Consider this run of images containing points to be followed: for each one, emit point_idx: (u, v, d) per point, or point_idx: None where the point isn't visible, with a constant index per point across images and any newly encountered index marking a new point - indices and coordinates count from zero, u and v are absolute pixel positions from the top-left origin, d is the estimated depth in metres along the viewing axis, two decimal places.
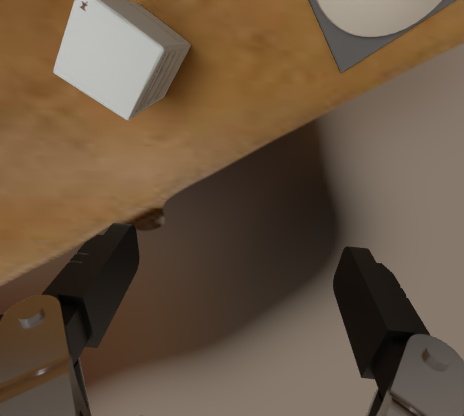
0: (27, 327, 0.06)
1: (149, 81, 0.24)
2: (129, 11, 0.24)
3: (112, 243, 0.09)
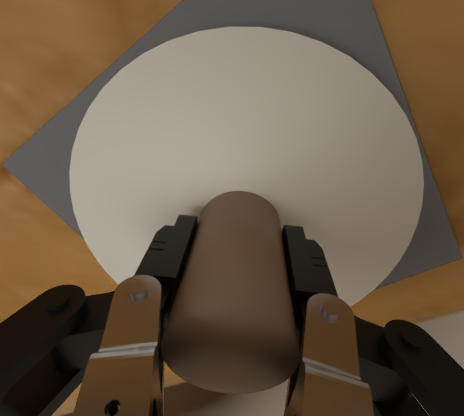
0: (139, 302, 0.07)
1: None
2: None
3: (185, 232, 0.10)
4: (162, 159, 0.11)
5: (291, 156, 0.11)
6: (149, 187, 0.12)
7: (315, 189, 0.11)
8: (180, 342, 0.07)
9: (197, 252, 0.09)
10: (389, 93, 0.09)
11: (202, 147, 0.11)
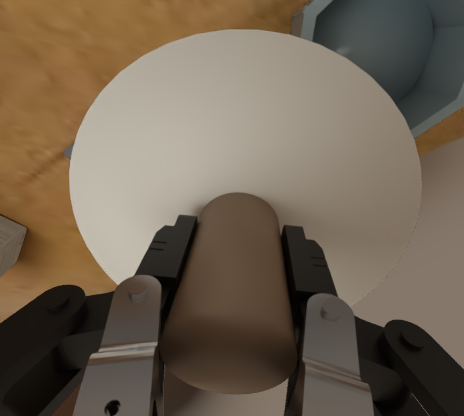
0: (139, 302, 0.07)
1: None
2: None
3: (185, 232, 0.10)
4: (161, 161, 0.11)
5: (290, 158, 0.11)
6: (148, 188, 0.12)
7: (314, 191, 0.11)
8: (179, 343, 0.07)
9: (196, 253, 0.09)
10: (387, 95, 0.09)
11: (202, 148, 0.11)
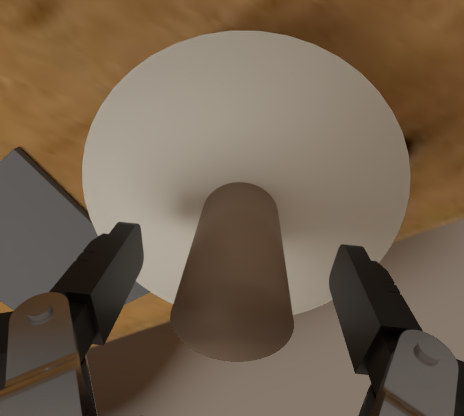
0: (36, 324, 0.06)
1: None
2: None
3: (118, 242, 0.09)
4: (168, 152, 0.12)
5: (288, 149, 0.12)
6: (156, 179, 0.13)
7: (310, 180, 0.12)
8: (187, 312, 0.08)
9: (201, 235, 0.10)
10: (377, 91, 0.10)
11: (206, 141, 0.12)
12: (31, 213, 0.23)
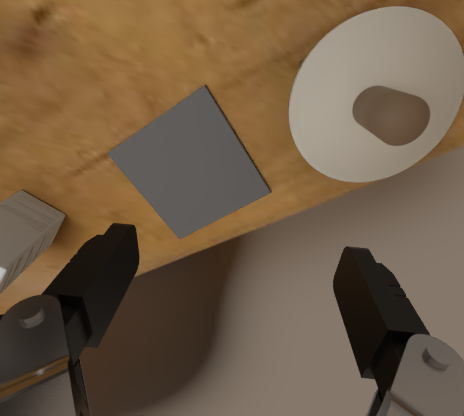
0: (27, 327, 0.06)
1: (2, 282, 0.34)
2: None
3: (112, 243, 0.09)
4: (346, 68, 0.24)
5: (407, 66, 0.24)
6: (334, 83, 0.25)
7: (414, 84, 0.24)
8: (387, 113, 0.20)
9: (377, 96, 0.22)
10: (454, 36, 0.23)
11: (367, 61, 0.24)
12: (199, 132, 0.35)
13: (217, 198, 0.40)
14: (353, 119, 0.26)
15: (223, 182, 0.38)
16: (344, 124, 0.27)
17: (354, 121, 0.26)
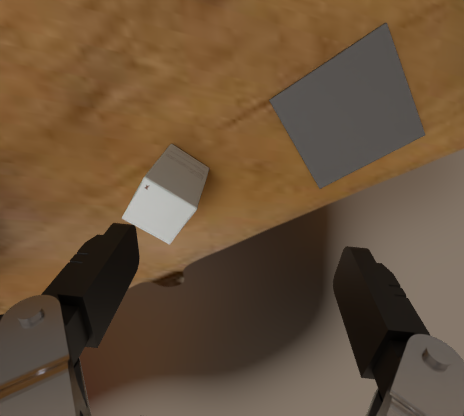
0: (27, 327, 0.06)
1: (185, 223, 0.36)
2: (172, 175, 0.36)
3: (112, 243, 0.09)
4: None
5: None
6: None
7: None
8: None
9: None
10: None
11: None
12: (368, 73, 0.36)
13: (369, 143, 0.41)
14: None
15: (379, 126, 0.39)
16: None
17: None
